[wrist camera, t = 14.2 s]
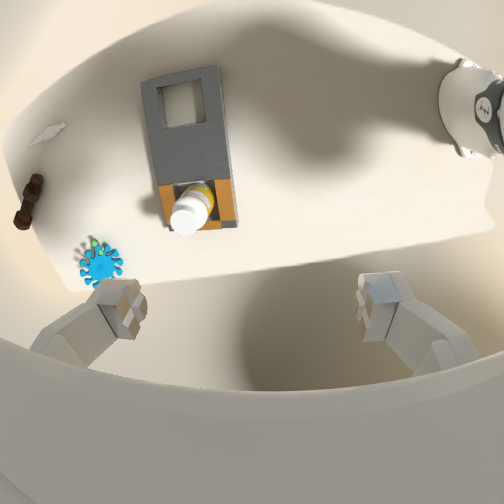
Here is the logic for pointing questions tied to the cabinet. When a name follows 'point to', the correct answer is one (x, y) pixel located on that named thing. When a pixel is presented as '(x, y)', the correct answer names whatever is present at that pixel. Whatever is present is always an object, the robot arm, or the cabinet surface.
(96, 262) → the blue lobed piece
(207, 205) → the supplement bottle
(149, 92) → the gray and orange holder
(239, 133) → the cabinet surface
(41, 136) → the stone spearhead
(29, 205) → the bolt
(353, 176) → the cabinet surface
